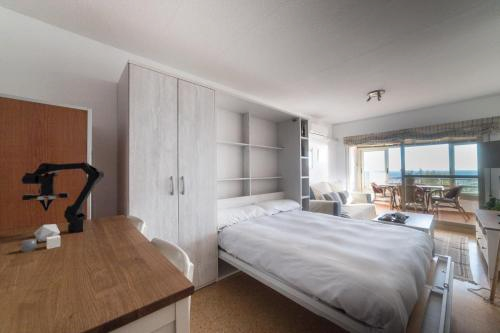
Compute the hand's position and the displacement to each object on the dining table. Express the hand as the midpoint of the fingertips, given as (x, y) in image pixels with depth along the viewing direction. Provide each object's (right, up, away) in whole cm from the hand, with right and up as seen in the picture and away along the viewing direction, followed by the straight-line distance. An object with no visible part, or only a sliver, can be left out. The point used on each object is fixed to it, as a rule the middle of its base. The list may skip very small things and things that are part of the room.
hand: (46, 210), depth 117 cm
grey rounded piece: (+19, -12, -26) cm, 35 cm away
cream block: (+25, -12, -21) cm, 35 cm away
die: (+13, -13, -13) cm, 23 cm away
